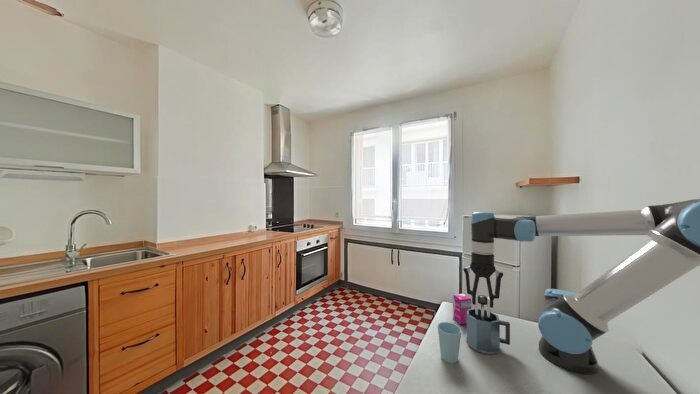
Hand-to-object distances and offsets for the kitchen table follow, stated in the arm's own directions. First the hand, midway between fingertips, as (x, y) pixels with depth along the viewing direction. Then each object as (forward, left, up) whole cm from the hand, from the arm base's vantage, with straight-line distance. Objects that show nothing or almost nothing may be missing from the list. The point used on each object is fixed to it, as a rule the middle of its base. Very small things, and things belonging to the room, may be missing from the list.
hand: (482, 314), depth 88 cm
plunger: (0, 0, -9) cm, 9 cm away
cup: (+11, +13, -12) cm, 21 cm away
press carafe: (-2, 0, -12) cm, 12 cm away
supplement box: (+7, -16, -12) cm, 21 cm away
